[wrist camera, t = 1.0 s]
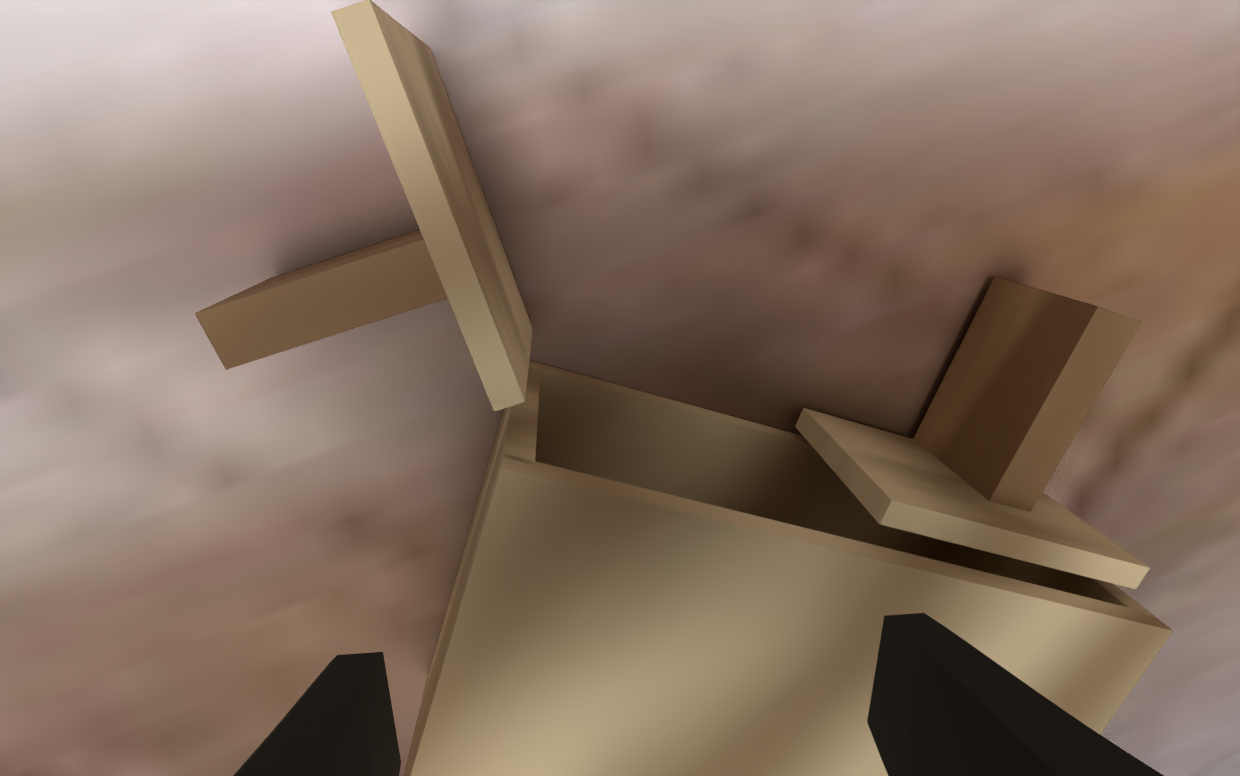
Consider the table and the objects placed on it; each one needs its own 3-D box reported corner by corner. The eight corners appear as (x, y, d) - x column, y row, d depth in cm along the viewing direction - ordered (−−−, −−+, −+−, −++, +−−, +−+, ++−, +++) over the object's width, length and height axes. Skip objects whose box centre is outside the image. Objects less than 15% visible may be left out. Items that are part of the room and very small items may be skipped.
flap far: (1091, 309, 18) (1284, 368, 14) (995, 482, 20) (1135, 589, 15) (878, 235, 17) (1008, 271, 12) (794, 426, 19) (879, 524, 14)
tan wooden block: (192, 126, 15) (15, 116, 10) (429, 47, 15) (369, -1, 10) (328, 394, 17) (239, 492, 12) (532, 328, 17) (524, 401, 12)
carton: (989, 487, 20) (1174, 631, 14) (844, 748, 24) (944, 955, 18) (519, 357, 18) (501, 468, 12) (427, 674, 21) (376, 891, 15)
